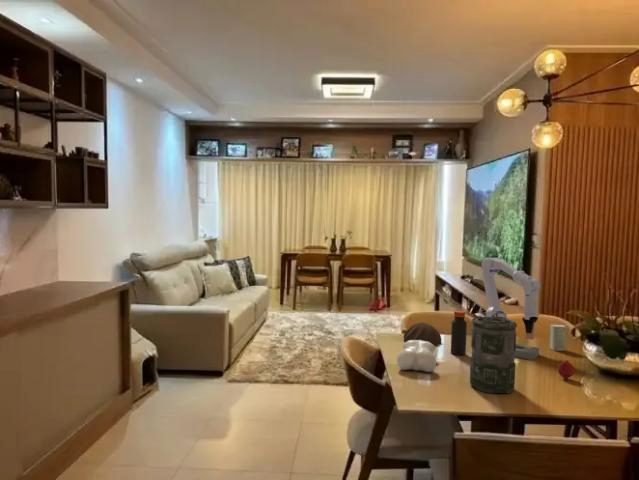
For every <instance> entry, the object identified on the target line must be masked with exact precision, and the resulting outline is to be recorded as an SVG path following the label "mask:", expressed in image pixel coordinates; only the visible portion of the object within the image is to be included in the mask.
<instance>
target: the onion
mask: <svg viewBox="0 0 639 480" xmlns="http://www.w3.org/2000/svg"><path fill="white" fill-rule="evenodd" d="M557 372H558V374H559V376H561V377H562V378H563V379H565V380H568V379H569V378H571V377H572V376H573V375H574V374H575V367H574V366H573V364H572V363H570V362H569V359H565V360H564V361H562V362H561V363H559V365H558V367H557Z"/></svg>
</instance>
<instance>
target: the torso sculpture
mask: <svg viewBox="0 0 639 480" xmlns="http://www.w3.org/2000/svg"><path fill="white" fill-rule="evenodd" d="M402 344H403V345H402V348H403V349H402V350H401V351H399V353H398V354H397V361H396V362H397V366H398V368H399V369H401V370H403V371H407V370H408V371H409V370H413V371H422V372H425V373H431V372H433V371H434V370H435V369H436V366H437V359H436V356H435V355H434V352H435V351H436V345H435V346H434V345H433V344H431V343H430V342H427V341H422V340H409V341H407V342H403V343H402Z"/></svg>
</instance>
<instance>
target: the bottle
mask: <svg viewBox="0 0 639 480" xmlns="http://www.w3.org/2000/svg"><path fill="white" fill-rule="evenodd" d="M453 312H454V313H453V317H454V319H453V320H452V321H451V333H450V337H451V338H450V353H451V354H452V355H453V356H459V357H460V356H466V354H467V352H466V351H467V328H468V323H467V321H466V320H465V317H466V311H464V310H454V311H453Z"/></svg>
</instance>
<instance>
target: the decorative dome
mask: <svg viewBox="0 0 639 480" xmlns="http://www.w3.org/2000/svg"><path fill="white" fill-rule="evenodd" d="M409 340H422V341H427V342H430V343H431V344H433V345H434V346H435V347H436V346H437V345H438V346H439V345H442V335H441V333H440V332H439V331H438V330H437V329H436V328H435V327H434V326H433V325H432V324H429V323H427V322H417V323H414V324H412V325H410V326H409V328H407V330H405V332H404V334H403V343H405V342H407V341H409Z"/></svg>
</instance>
